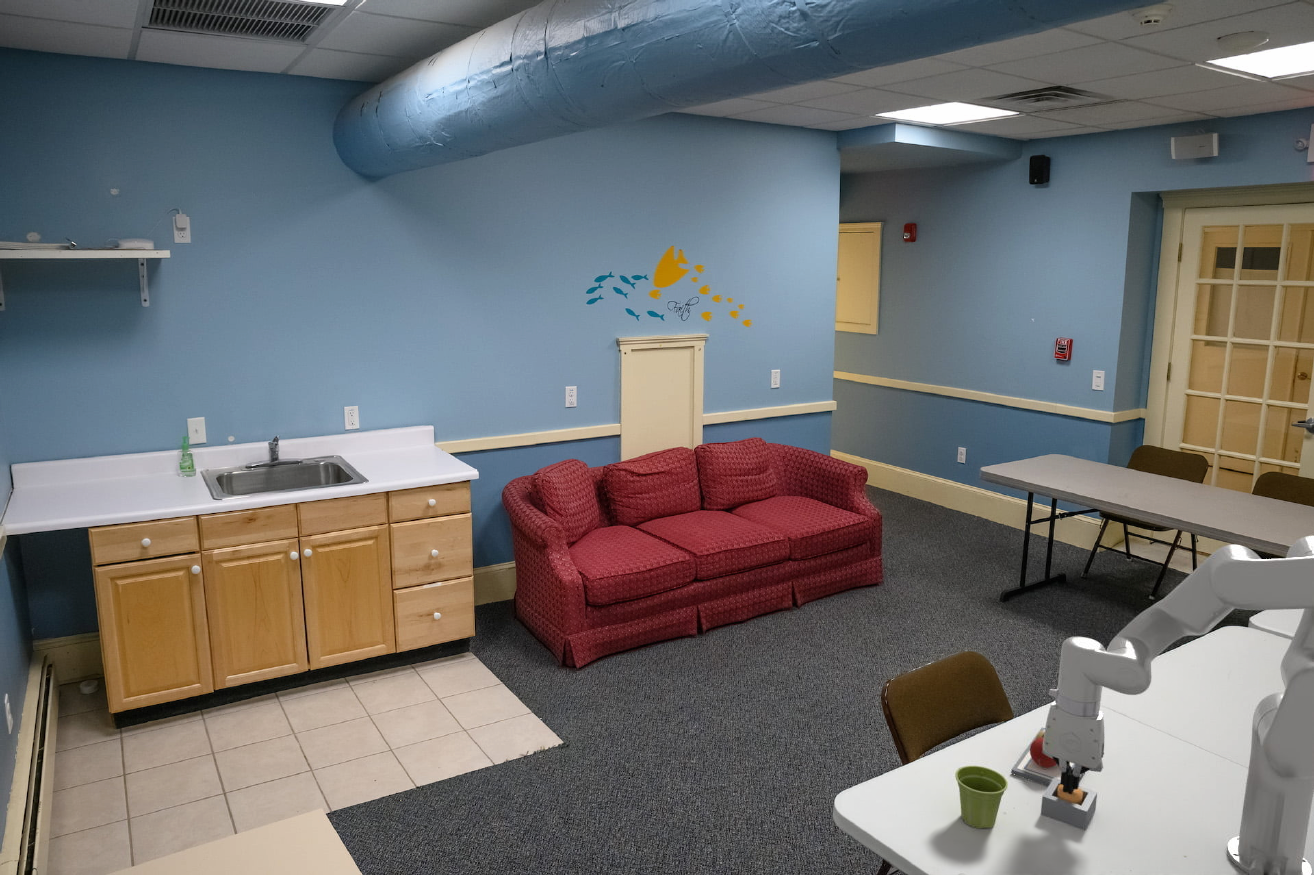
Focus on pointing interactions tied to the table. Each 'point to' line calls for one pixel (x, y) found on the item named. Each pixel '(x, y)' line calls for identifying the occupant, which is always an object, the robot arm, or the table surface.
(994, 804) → the plant pot
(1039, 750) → the kendama
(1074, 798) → the button
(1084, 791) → the button housing
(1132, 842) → the table surface
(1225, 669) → the table surface
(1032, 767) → the picture frame
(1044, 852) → the table surface
